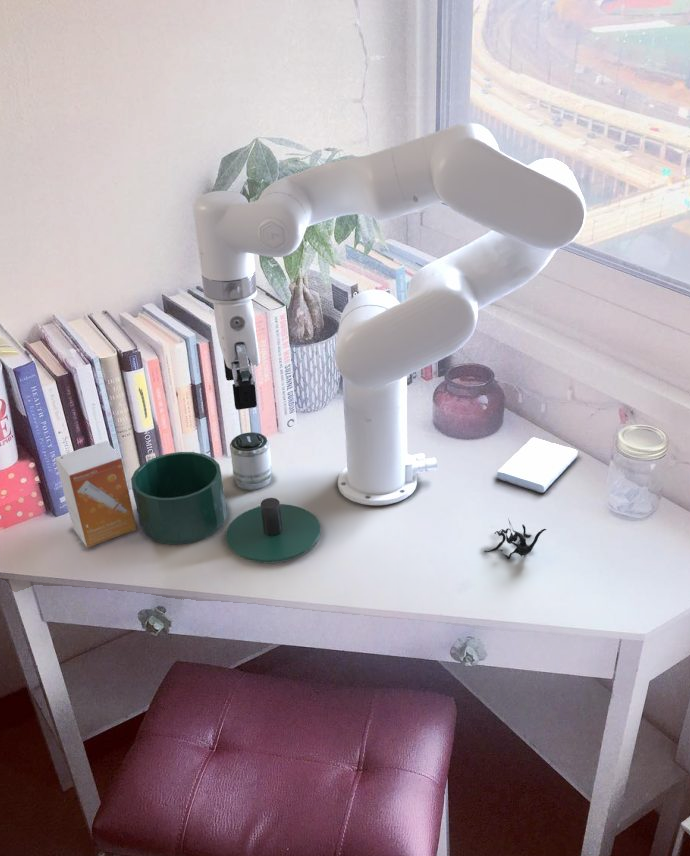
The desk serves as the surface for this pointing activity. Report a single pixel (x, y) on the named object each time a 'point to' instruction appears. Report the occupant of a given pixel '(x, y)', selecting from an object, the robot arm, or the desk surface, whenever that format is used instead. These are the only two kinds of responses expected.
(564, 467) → the hard drive
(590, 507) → the desk surface
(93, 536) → the small box
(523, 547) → the creature
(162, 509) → the pot
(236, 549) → the lid
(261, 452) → the camera lens
